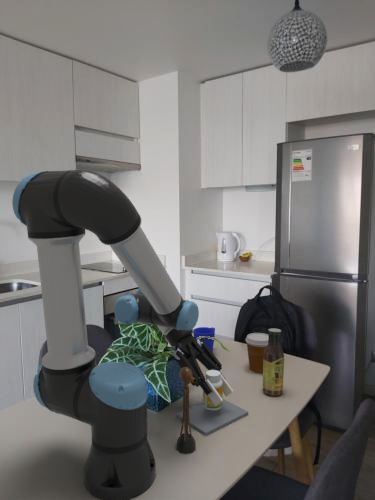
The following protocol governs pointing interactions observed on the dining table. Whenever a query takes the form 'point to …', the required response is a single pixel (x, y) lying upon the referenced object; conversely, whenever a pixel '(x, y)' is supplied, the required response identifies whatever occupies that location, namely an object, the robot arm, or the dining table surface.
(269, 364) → the sauce bottle
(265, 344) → the disposable coffee cup
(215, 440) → the dining table surface
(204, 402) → the supplement bottle
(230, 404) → the mat
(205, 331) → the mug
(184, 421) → the wooden tabletop sculpture
